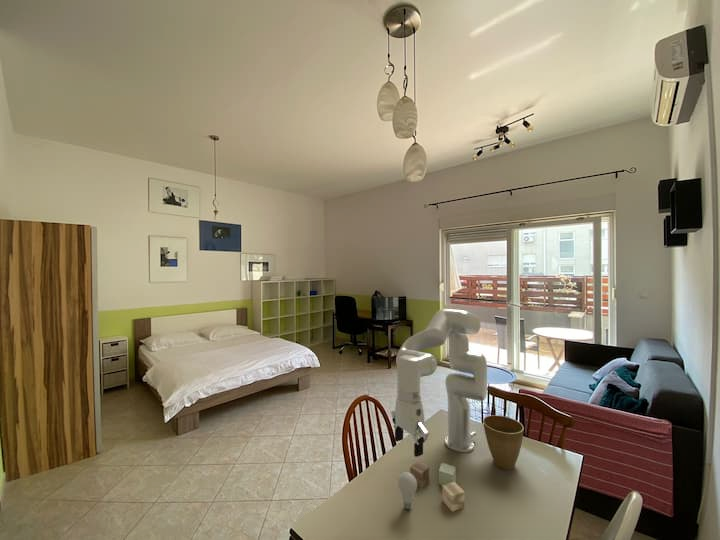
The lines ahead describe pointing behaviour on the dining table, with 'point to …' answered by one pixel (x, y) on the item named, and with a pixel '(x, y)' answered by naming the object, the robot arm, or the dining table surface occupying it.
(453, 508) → the beech cube
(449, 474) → the sage cube
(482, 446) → the dining table surface
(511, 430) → the plant pot
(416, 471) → the walnut cube
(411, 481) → the lightbulb
